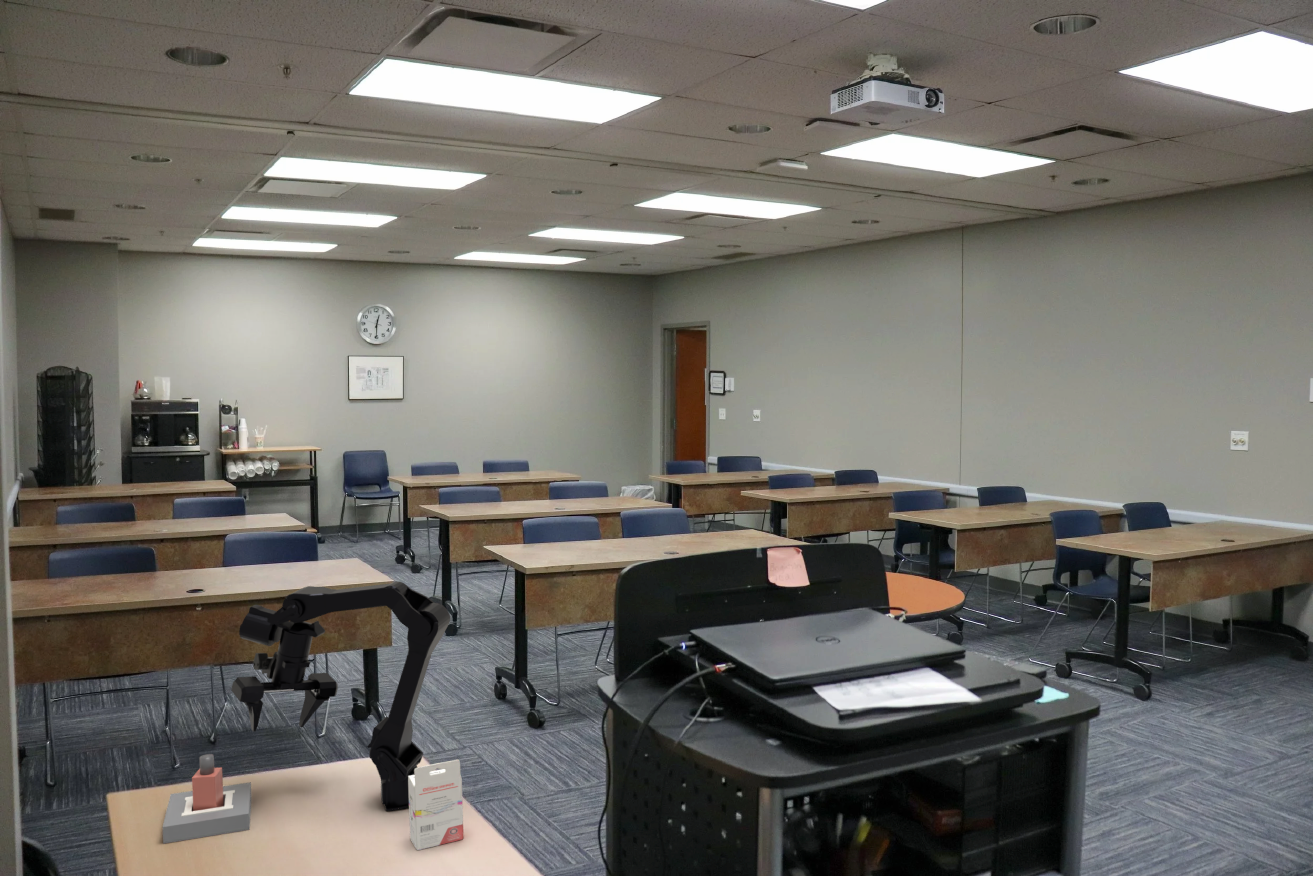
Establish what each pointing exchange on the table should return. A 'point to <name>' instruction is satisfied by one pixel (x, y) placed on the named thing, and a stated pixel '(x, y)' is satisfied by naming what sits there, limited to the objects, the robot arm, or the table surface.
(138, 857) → the table surface
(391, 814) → the table surface
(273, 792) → the table surface
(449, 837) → the ink cartridge box
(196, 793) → the plug
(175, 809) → the socket plate
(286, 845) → the table surface
